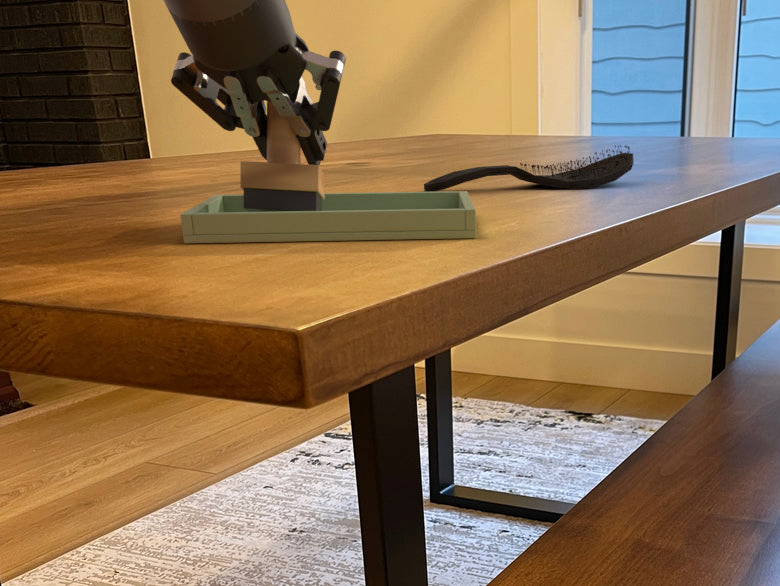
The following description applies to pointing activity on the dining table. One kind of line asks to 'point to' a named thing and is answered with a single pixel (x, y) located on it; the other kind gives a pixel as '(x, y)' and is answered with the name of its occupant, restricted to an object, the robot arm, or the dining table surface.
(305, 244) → the dining table surface
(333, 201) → the tray
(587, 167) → the hairbrush
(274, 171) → the scrub brush
